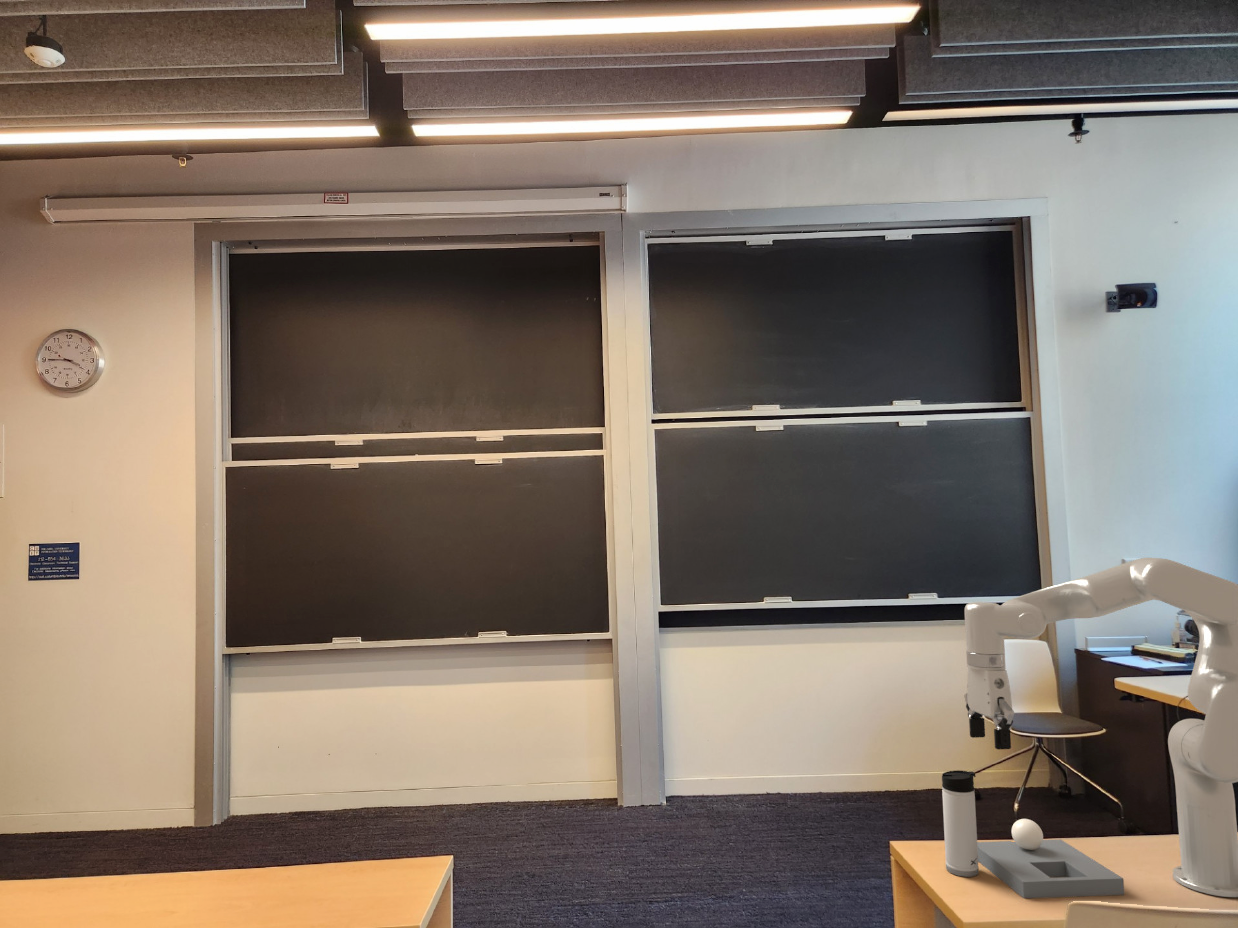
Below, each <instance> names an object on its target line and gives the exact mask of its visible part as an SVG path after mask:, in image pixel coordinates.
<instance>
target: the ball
mask: <svg viewBox="0 0 1238 928" xmlns="http://www.w3.org/2000/svg"><path fill="white" fill-rule="evenodd" d="M1011 836H1012V839H1013V841H1015V842H1016V843H1017V844H1018V845H1019V846H1020V847H1022V848H1024V849H1027V850H1034V849H1037V848H1038V847H1039V846H1040V845H1041V844H1042V842H1043V840H1044V833H1043V831H1042V829H1041V827H1040V826H1039V824H1038V823H1036V822H1035V821H1033V820H1031V819H1028V818H1021V819H1018V820H1016V821H1015V822H1014V823H1013V825H1012V826H1011Z"/></svg>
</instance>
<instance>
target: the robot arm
mask: <svg viewBox="0 0 1238 928" xmlns="http://www.w3.org/2000/svg"><path fill="white" fill-rule="evenodd" d="M1153 600H1155V601H1159V602H1162V603H1165V604H1168V605H1170V606H1173V607H1175V608H1177V609H1179V610H1182V611H1184V612H1185V613H1186V614H1188V615H1189V617H1191V619H1192V620H1193V621H1194V623H1195V625H1196V627H1197V630H1198V634H1199V642H1198V648H1197V653H1196V657H1195V661H1194V664H1193V667H1192V668H1193V669H1192V672H1191V675H1190V679H1189V683H1188V687H1187V697H1188V700H1189V702H1190V704H1191V705H1192V706H1193V707H1194V708H1195V709H1196V710H1198V711H1199V712H1201V713H1203V714H1204V715H1205V717H1204V720H1203V719H1200V718H1185V719H1182V720H1180V721H1177V722H1176V723H1175V724H1174V725H1173V726H1172V727H1171V728H1170V731H1169V733H1168V738H1167V745H1168V752H1169V756H1170V761H1171V766H1172V770H1173V771H1172V772H1173V777H1174V785H1175V797H1176V812H1177V828H1178V839H1179V850H1180V852H1179V853H1180V863H1181V864H1180V865H1179V866H1176V867H1173V869H1172V877H1173V879H1174V880H1175V881H1176V882H1177V883H1178V884H1180V885H1182V886H1183V887H1186V888H1189V889H1191V890H1193V891H1196V892H1199V893H1202V894H1203V893H1204V894H1207V895H1211V896H1216V897H1223V898H1238V825H1237V814H1236V798H1235V791H1234V786H1233V784H1235V783H1238V583H1236V582H1234V581H1231V580H1228V579H1225V578H1222V577H1219V576H1216V575H1215V574H1214V575H1213V574H1212V573H1211V574H1210V573H1208V572H1204V571H1202V570H1198V569H1197V568H1195V567H1191V566H1189V565H1186V564H1182V563H1180V562H1177V561H1174V560H1171V559H1168V558H1161V557H1160V558H1158V557H1142V558H1137V559H1134V560H1131V561H1130V560H1129V561H1128V562H1125V563H1121V564H1119V565H1116V566H1113V567H1109V568H1107V569H1104V570H1101V571H1098V572H1094V573H1092V574H1088V575H1086V576H1082V577H1080V578H1076V579H1072V580H1069V581H1065V582H1062V583H1058V584H1055V585H1052V586H1048V587H1045V588H1042V589H1041V588H1040V589H1038V590H1035V591H1031V592H1029V593H1026V594H1022V595H1020V596H1017V597H1013V598H1012V599H1009V600H1006V601H1004V603H1002V604H1001V605H999V604H998V603H995V602H986V601H980V602H979V601H977V602H976V601H974V602H969V603H967V604H966V605H965V607H964V628H965V629H964V631H965V632H964V633H965V647H966V648H965V649H966V667H967V675H966V676H967V679H966V681H967V684H966V686H967V687H966V690H967V691H966V693H965V694H964V699H965V700H964V701H965V704H966V705H965V708H966V709H967V717H968V718H969V719H968V725H969V736H970V738H972V739H973V738H985V737H986V728H985V727H986V725H985V718H984V717H986V718H990V719H992V721H993V725H994V727H995V728H994V729H993V737H994V738H993V739H994V748H995V749H996V750H1011V748H1012V739H1011V730H1012V725H1013V723H1014V716H1015V711H1014V710H1013V702H1012V692H1011V686H1010V681H1009V676H1008V673H1007V670H1006V668H1007V667H1006V653H1005V651H1006V650H1005V637H1007V638H1013V639H1020V640H1021V639H1022V640H1033V639H1035V638H1039V637H1040V636H1041V635H1042V634H1043V633H1044V632H1045V631H1046V628H1047V625H1049V624H1052V623H1056V622H1060V621H1065V620H1071V619H1072V620H1073V619H1075V620H1076V619H1093V618H1099V617H1103V616H1106V615H1109V614H1112V613H1115V612H1119V611H1121V610H1124V609H1128V608H1130V607H1133V606H1137V605H1140V604H1143V603H1146V602H1149V601H1153ZM983 716H984V717H983Z"/></svg>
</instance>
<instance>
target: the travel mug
mask: <svg viewBox="0 0 1238 928" xmlns="http://www.w3.org/2000/svg"><path fill="white" fill-rule="evenodd" d="M974 778H976V773H975V772H974V770H973V771H972V770H971V771H968V770H959V769H958V770H948V771H946V772H943V773H942V774H941V782H942V783H941V789H942V790H941V791H942V793H941V795H942V813H943V831H944V832H943V833H944V851H945V852H944V853H945V854H944V855H945V856H944V857H945V869H946V871H948V872H949V873H950V874H952V875H955V876H958V877H963V878H965V877H966V878H971V877H975V876H977V875H979V874H980V873H979V862H978V848H977V842H978V833H977V832H978V831H977V830H978V829H977V816H976V815H977V813H976V810H977V809H976V796H975V795H976V794H975V785H974V784H975V782H974V781H975V780H974Z"/></svg>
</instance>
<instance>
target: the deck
mask: <svg viewBox="0 0 1238 928" xmlns="http://www.w3.org/2000/svg"><path fill="white" fill-rule="evenodd" d="M1011 841H1012V840H1010V841H1009V840H1004V841H1002V840H1001V841H977V848H978V863H979V864H980V865H982V866H983V867H984V866H985V867H984V868H986V869H987V870H988V871H990V872H991V873H992V874H993V875H995V876H996V878H998V879H999V880H1001V881H1002V882H1003V883H1004V884H1005V885H1007V886H1008V888H1010V889H1012V890H1013V891H1014V892H1015V893H1017V894H1018V895H1019V896H1021V897H1022V898H1023V899H1037V898H1039V899H1041V898H1043V899H1044V898H1045V899H1046V898H1066V897H1068V898H1070V897H1092V896H1095V897H1097V896H1124V895H1125V882H1124V878H1123V877H1122V876H1120V875H1119V874H1117V873H1115V872H1113V870H1111V869H1109V868H1107V867H1106V866H1104V865H1103V864H1101V863H1099V862H1098V861H1096V860H1094V858H1091V857H1090V856H1088V855H1086V854H1085V853H1084V852H1082V851H1080V850H1078V849H1077V848H1076V847H1073V846H1072V845H1070V844H1069V843H1067V842H1066V841H1064V840H1062V839H1060V838H1059V839H1043V842H1042V844H1041V845H1040V846H1039V847H1038V848H1037V849H1034V850H1027V849H1024V848H1022V847H1020V846H1019V845H1018V844H1017V843H1016V842H1011Z"/></svg>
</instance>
